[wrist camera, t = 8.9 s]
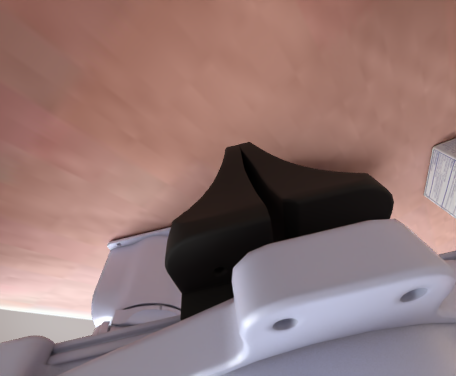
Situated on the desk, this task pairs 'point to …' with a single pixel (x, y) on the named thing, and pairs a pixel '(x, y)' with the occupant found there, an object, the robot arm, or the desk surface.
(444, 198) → the medicine box
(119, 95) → the desk surface
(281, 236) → the robot arm
